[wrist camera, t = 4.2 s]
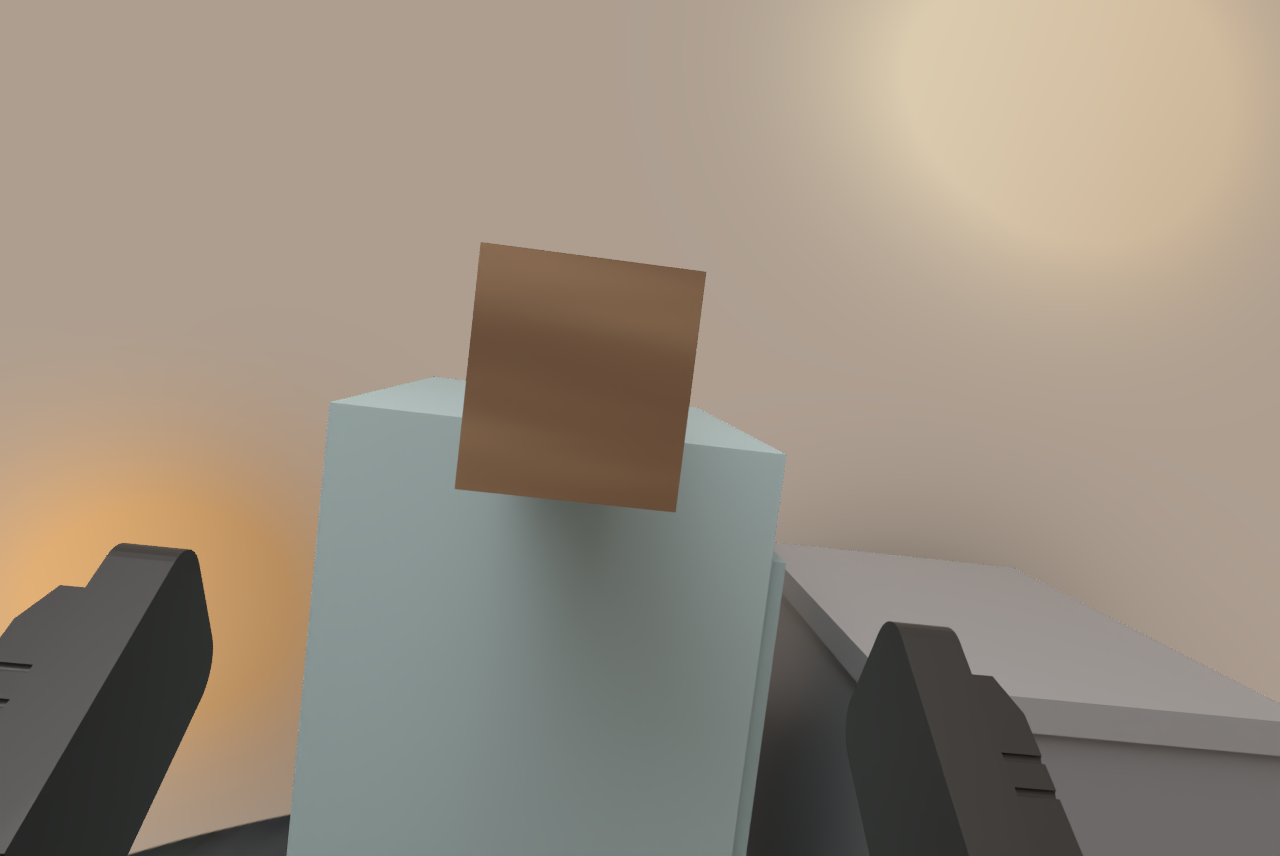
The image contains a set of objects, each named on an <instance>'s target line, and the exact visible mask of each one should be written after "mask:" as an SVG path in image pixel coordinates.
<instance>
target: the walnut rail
mask: <svg viewBox="0 0 1280 856" xmlns="http://www.w3.org/2000/svg"><path fill="white" fill-rule="evenodd" d="M705 277H706V272H702V271H695V270H688V269H680V268H673V267H664V266H657V265H649V264H641V263H634V262H627V261H619V260H612V259H604V258H597V257H589V256H582V255H573V254H566V253H559V252H551V251H544V250H536V249H528V248H521V247H513V246H505V245H498V244H491V243H483V242H482V243H481V246H480V255H479V265H478V274H477V283H476V292H475V302H474V311H473V321H472V330H471V339H470V349H469V358H468V368H467V377H466V386H465V396H464V405H463V414H462V424H461V433H460V443H459V452H458V461H457V471H456V480H455V489H458V490H467V491H477V492H486V493H496V494H505V495H515V496H524V497H533V498H543V499H552V500H562V501H571V502H581V503H590V504H600V505H609V506H618V507H628V508H637V509H647V510H656V511H666V512H675V513H676V506H677V498H678V490H679V482H680V474H681V467H682V459H683V451H684V443H685V435H686V427H687V419H688V411H689V403H690V395H691V388H692V380H693V372H694V364H695V356H696V348H697V340H698V332H699V324H700V316H701V309H702V301H703V292H704V285H705Z"/></svg>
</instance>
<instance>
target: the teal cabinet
mask: <svg viewBox="0 0 1280 856" xmlns="http://www.w3.org/2000/svg"><path fill="white" fill-rule="evenodd" d="M465 386H466V381H465V380H457V379H449V378H440V377H431V378H428V379H423V380H419V381H415V382H411V383H407V384H403V385H399V386H394V387H390V388H386V389H383V390H378V391H374V392H370V393H366V394H362V395H357V396H354V397H350V398H345V399H341V400H337V401H333V402H330V405H329V415H328V425H327V436H326V446H325V457H324V468H323V478H322V489H321V499H320V511H319V521H318V531H317V541H316V552H315V562H314V574H313V584H312V595H311V606H310V617H309V626H308V636H307V647H306V658H305V668H304V680H303V689H302V700H301V710H300V721H299V722H300V723H299V732H298V742H297V753H296V763H295V774H294V784H293V795H292V806H291V816H290V827H289V837H288V848H287V856H746V851H747V844H748V837H749V829H750V822H751V815H752V808H753V800H754V793H755V786H756V778H757V771H758V764H759V757H760V749H761V742H762V735H763V727H764V720H765V713H766V706H767V698H768V691H769V684H770V676H771V669H772V662H773V655H774V647H775V640H776V633H777V626H778V618H779V611H780V604H781V596H782V589H783V582H784V575H785V567H786V562H785V561H784V560H783V559H782V558H781V557H780V556H779V555H778V554H777V553H776V552H775V551H774V550H773V549H774V542H775V541H774V540H775V534H776V527H777V519H778V512H779V505H780V497H781V490H782V483H783V475H784V467H785V461H786V454H784V453H782V452H780V451H778V450H776V449H774V448H773V447H771V446H769V445H767V444H765V443H763V442H761V441H759V440H757V439H755V438H754V437H752V436H750V435H748V434H746V433H744V432H742V431H740V430H738V429H736V428H734V427H733V426H731V425H729V424H727V423H725V422H723V421H721V420H719V419H717V418H715V417H714V416H711V415H710V414H708V413H706V412H704V411H702V410H700V409H698V408H694V407H689V411H688V419H687V427H686V435H685V443H684V451H683V459H682V467H681V474H680V482H679V490H678V498H677V506H676V513H675V512H666V511H656V510H647V509H637V508H628V507H618V506H609V505H600V504H590V503H581V502H571V501H562V500H552V499H543V498H533V497H524V496H515V495H505V494H496V493H486V492H477V491H467V490H458V489H455V480H456V471H457V461H458V452H459V443H460V433H461V424H462V414H463V405H464V396H465Z"/></svg>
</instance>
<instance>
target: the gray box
mask: <svg viewBox="0 0 1280 856" xmlns="http://www.w3.org/2000/svg"><path fill="white" fill-rule="evenodd" d="M773 550H774V551H775V552H776V553H777V554H778V555H779V556H780V557H781V558H782V559H783V560H784V561H785V562H786V567H785V575H784V582H783V589H782V596H781V604H780V611H779V618H778V626H777V633H776V640H775V647H774V655H773V662H772V669H771V676H770V684H769V691H768V698H767V706H766V713H765V720H764V727H763V735H762V742H761V749H760V757H759V764H758V771H757V778H756V786H755V793H754V800H753V808H752V815H751V822H750V829H749V837H748V844H747V851H746V856H869V851H868V846H867V842H866V837H865V833H864V828H863V823H862V819H861V814H860V809H859V805H858V800H857V796H856V791H855V786H854V782H853V777H852V773H851V768H850V763H849V759H848V754H847V747H846V717H847V711H848V706H849V702H850V699H851V697H852V694H853V692H854V690H855V687H856V685H857V683H858V680H859V678H860V675H861V673H862V671H863V668H864V666H865V664H866V661H867V659H868V656H869V654H870V652H871V649H872V647H873V645H874V642H875V640H876V637H877V635H878V633H879V631H880V629H881V627H882V626H883V624H885V623H886V622H888V621H892V622H902V623H912V624H922V625H932V626H942V627H949V628H951V629H952V630H953V631H954V632H955V633H956V635H957V636H958V639H959V641H960V643H961V646H962V649H963V651H964V654H965V657H966V659H967V662H968V665H969V667H970V670H971V673H972V674H975V675H986V676H993V677H994V678H995V680H996V681H997V682H998V683H999V684H1000V686H1001V687H1002V688H1003V689H1004V690H1005V692H1006V693H1007V694H1008V695H1009V696H1010V697H1011V699H1012V700H1013V701H1014V702H1015V703H1016V705H1017V706H1018V707H1019V708H1020V709H1021V711H1022V712H1023V713H1024V714H1025V717H1026V719H1027V722H1028V724H1029V726H1030V729H1031V731H1032V734H1033V736H1034V738H1035V741H1036V743H1037V746H1038V748H1039V750H1040V753H1041V755H1042V757H1041V763H1042V764H1045V765H1046V767H1047V770H1048V772H1049V775H1050V777H1051V779H1052V782H1053V784H1054V787H1055V789H1056V792H1055V796H1056V799H1060V801H1061V804H1062V806H1063V808H1064V811H1065V813H1066V816H1067V818H1068V820H1069V823H1070V825H1071V828H1072V830H1073V833H1074V835H1075V837H1076V840H1077V842H1078V845H1079V847H1080V849H1081V852H1082V854H1083V856H1280V703H1277V702H1275V701H1274V700H1272V699H1270V698H1268V697H1266V696H1264V695H1262V694H1260V693H1258V692H1256V691H1254V690H1252V689H1250V688H1248V687H1246V686H1244V685H1242V684H1241V683H1238V682H1237V681H1235V680H1233V679H1230V678H1229V677H1227V676H1225V675H1223V674H1221V673H1219V672H1217V671H1215V670H1213V669H1211V668H1209V667H1207V666H1205V665H1203V664H1201V663H1199V662H1197V661H1195V660H1193V659H1192V658H1189V657H1188V656H1185V655H1184V654H1182V653H1179V652H1178V651H1176V650H1174V649H1172V648H1169V647H1168V646H1166V645H1164V644H1162V643H1160V642H1158V641H1156V640H1154V639H1152V638H1150V637H1148V636H1147V635H1144V634H1143V633H1141V632H1139V631H1137V630H1135V629H1133V628H1131V627H1129V626H1127V625H1125V624H1123V623H1121V622H1119V621H1117V620H1115V619H1113V618H1111V617H1109V616H1107V615H1105V614H1103V613H1101V612H1100V611H1097V610H1096V609H1094V608H1092V607H1090V606H1088V605H1086V604H1083V603H1082V602H1080V601H1078V600H1076V599H1074V598H1072V597H1070V596H1068V595H1066V594H1064V593H1062V592H1060V591H1058V590H1056V589H1054V588H1053V587H1051V586H1049V585H1047V584H1045V583H1043V582H1041V581H1039V580H1037V579H1035V578H1033V577H1031V576H1029V575H1027V574H1025V573H1023V572H1021V571H1019V570H1017V569H1015V568H1011V567H1001V566H993V565H983V564H974V563H965V562H955V561H945V560H937V559H927V558H918V557H908V556H899V555H890V554H880V553H871V552H861V551H852V550H843V549H833V548H824V547H815V546H805V545H796V544H786V543H778V542H774V549H773Z"/></svg>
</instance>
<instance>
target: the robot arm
mask: <svg viewBox="0 0 1280 856" xmlns="http://www.w3.org/2000/svg"><path fill="white" fill-rule="evenodd" d="M212 656H213V640H212V634H211V628H210V622H209V617H208V612H207V605H206V600H205V594H204V589H203V583H202V578H201V572H200V566H199V561H198V558H197V555H196V554H195V552H194V551H192V550H188V549H178V548H168V547H157V546H148V545H137V544H128V543H121V544H118V545H117V546H115V547H114V548H113V549H112V550H111V551H110V552H109V554H108V555H107V556H106V558H105V559H104V561H103V562H102V564H101V565H100V567H99V568H98V570H97V571H96V573H95V574H94V575H93V577H92V578H91V580H90V581H89V583H88V585H87V586H86V587H85V588H83V587H73V586H63V585H60V586H58V587H57V588H56V589H54V590H53V591H51V592H50V593H49V594H47V595H46V596H45V597H43V598H42V599H41V600H39V601H38V602H36V603H35V604H34V605H32V606H31V607H30V608H28V609H27V610H25V611H24V612H23V613H21V614H20V615H19V616H17V617H16V618H14V620H13V621H12V622H11V624H10V625H9V626H8V628H7V629H6V630H5V632H4V633H3V634H2V636H1V637H0V856H127V855H128V853H129V851H130V849H131V847H132V844H133V842H134V840H135V838H136V836H137V834H138V832H139V829H140V828H141V825H142V823H143V821H144V819H145V817H146V815H147V813H148V810H149V808H150V806H151V804H152V802H153V800H154V798H155V795H156V793H157V791H158V789H159V787H160V785H161V783H162V781H163V778H164V776H165V774H166V772H167V770H168V768H169V766H170V764H171V762H172V759H173V757H174V755H175V753H176V751H177V749H178V747H179V745H180V742H181V740H182V738H183V736H184V734H185V732H186V730H187V727H188V725H189V723H190V721H191V719H192V717H193V715H194V713H195V710H196V708H197V706H198V704H199V702H200V700H201V698H202V695H203V693H204V690H205V688H206V684H207V681H208V678H209V674H210V669H211V663H212ZM846 747H847V754H848V759H849V763H850V768H851V773H852V777H853V782H854V786H855V791H856V796H857V800H858V805H859V809H860V814H861V819H862V823H863V828H864V833H865V837H866V842H867V846H868V851H869V856H1083V854H1082V852H1081V849H1080V847H1079V845H1078V842H1077V840H1076V837H1075V835H1074V833H1073V830H1072V828H1071V825H1070V823H1069V820H1068V818H1067V816H1066V813H1065V811H1064V808H1063V806H1062V804H1061V801H1060V799H1056V796H1055V792H1056V789H1055V787H1054V784H1053V782H1052V779H1051V777H1050V775H1049V772H1048V770H1047V767H1046V765H1045V764H1042V763H1041V757H1042V755H1041V753H1040V750H1039V748H1038V746H1037V743H1036V741H1035V738H1034V736H1033V734H1032V731H1031V729H1030V726H1029V724H1028V722H1027V719H1026V717H1025V714H1024V713H1023V712H1022V711H1021V709H1020V708H1019V707H1018V706H1017V705H1016V703H1015V702H1014V701H1013V700H1012V699H1011V697H1010V696H1009V695H1008V694H1007V693H1006V692H1005V690H1004V689H1003V688H1002V687H1001V686H1000V684H999V683H998V682H997V681H996V680H995V678H994V677H993V676H986V675H975V674H972V673H971V670H970V667H969V665H968V662H967V659H966V657H965V654H964V651H963V649H962V646H961V643H960V641H959V639H958V636H957V635H956V633H955V632H954V631H953V630H952V629H951V628H949V627H942V626H932V625H922V624H912V623H902V622H892V621H888V622H886V623H885V624H883V626H882V627H881V629H880V631H879V633H878V635H877V637H876V640H875V642H874V645H873V647H872V649H871V652H870V654H869V656H868V659H867V661H866V664H865V666H864V668H863V671H862V673H861V675H860V678H859V680H858V683H857V685H856V687H855V690H854V692H853V694H852V697H851V699H850V702H849V706H848V711H847V717H846Z"/></svg>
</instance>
